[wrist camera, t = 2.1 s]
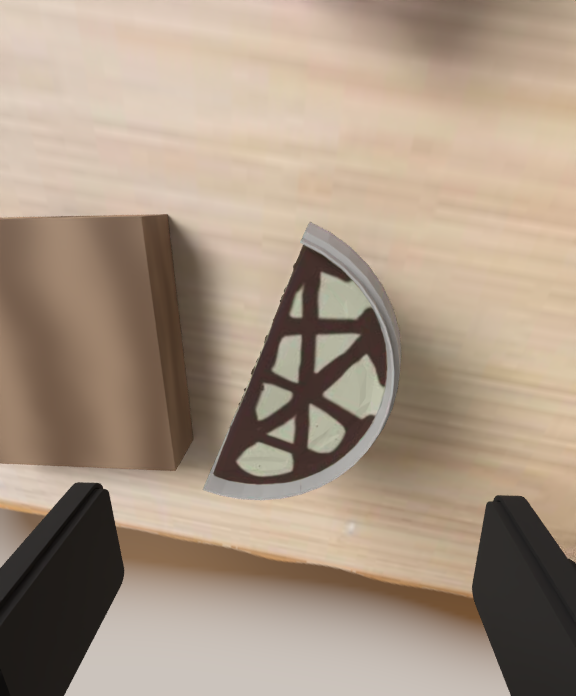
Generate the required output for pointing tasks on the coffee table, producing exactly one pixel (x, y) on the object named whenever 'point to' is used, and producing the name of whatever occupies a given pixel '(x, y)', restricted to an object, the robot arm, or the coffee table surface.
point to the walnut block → (91, 344)
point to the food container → (314, 379)
